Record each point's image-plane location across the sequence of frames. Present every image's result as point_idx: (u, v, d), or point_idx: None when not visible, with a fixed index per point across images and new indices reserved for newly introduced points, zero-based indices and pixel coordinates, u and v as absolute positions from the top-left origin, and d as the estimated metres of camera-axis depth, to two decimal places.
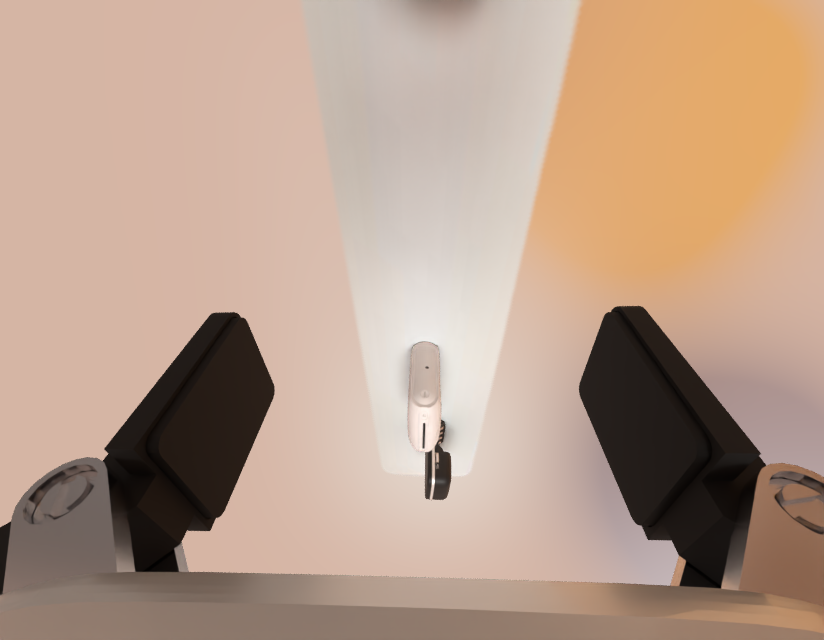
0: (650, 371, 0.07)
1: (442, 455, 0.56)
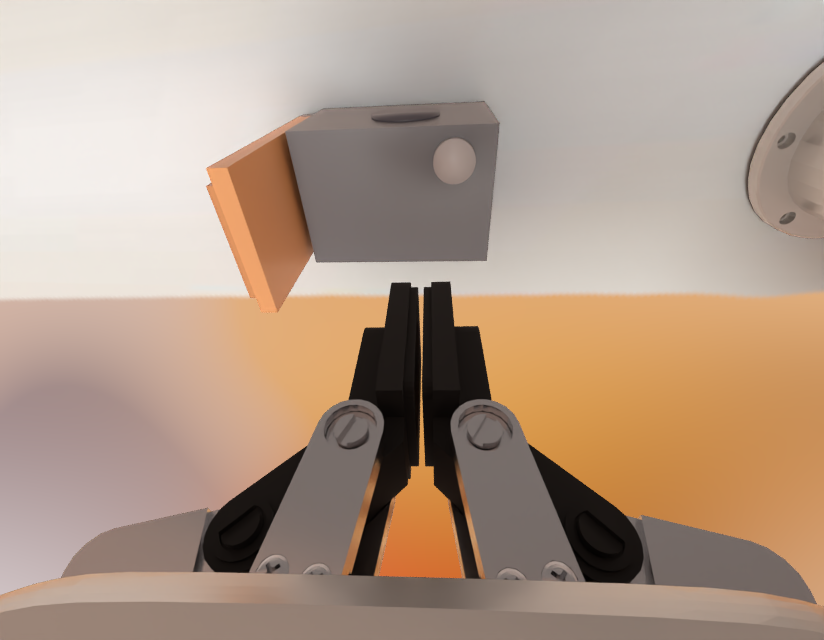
0: None
1: None
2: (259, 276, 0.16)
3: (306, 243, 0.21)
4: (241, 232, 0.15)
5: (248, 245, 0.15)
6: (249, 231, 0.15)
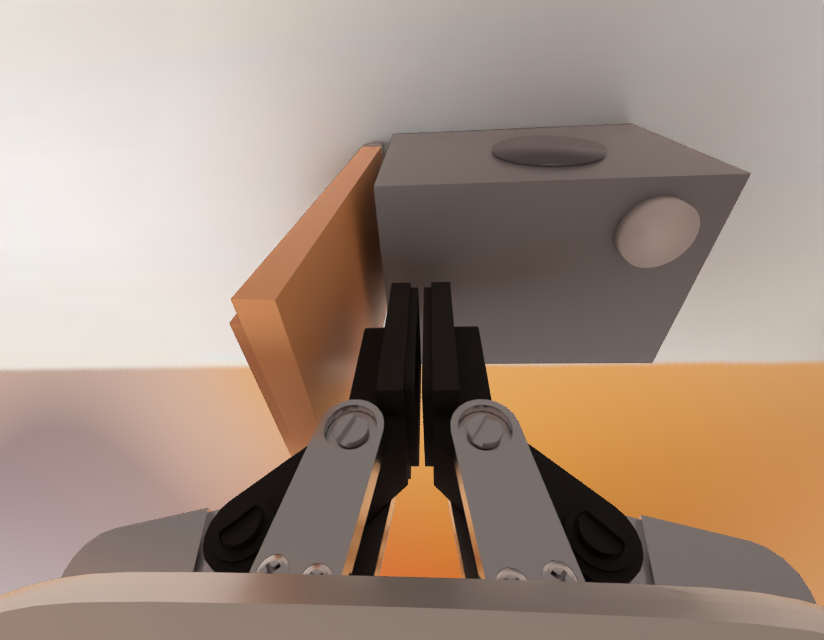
0: None
1: None
2: None
3: None
4: (292, 395, 0.08)
5: (303, 412, 0.08)
6: (307, 394, 0.08)
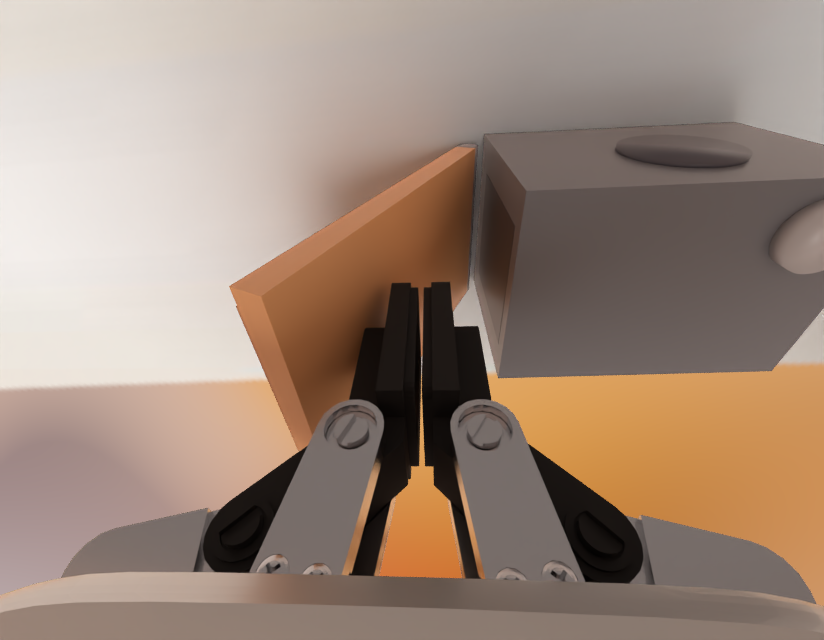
0: None
1: None
2: (308, 443, 0.09)
3: None
4: (284, 387, 0.08)
5: (294, 405, 0.08)
6: (296, 390, 0.08)
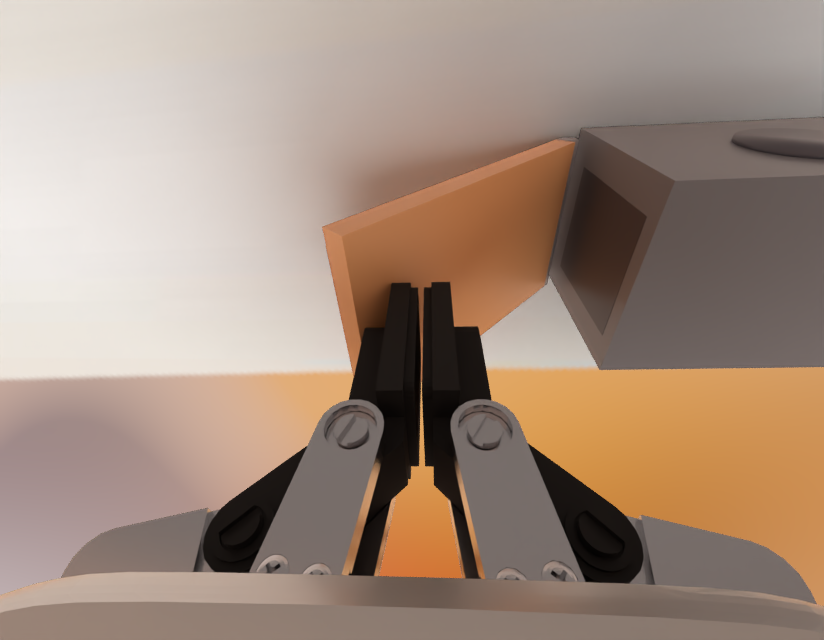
0: None
1: None
2: None
3: (476, 322, 0.14)
4: (349, 318, 0.10)
5: (355, 336, 0.10)
6: (358, 322, 0.10)
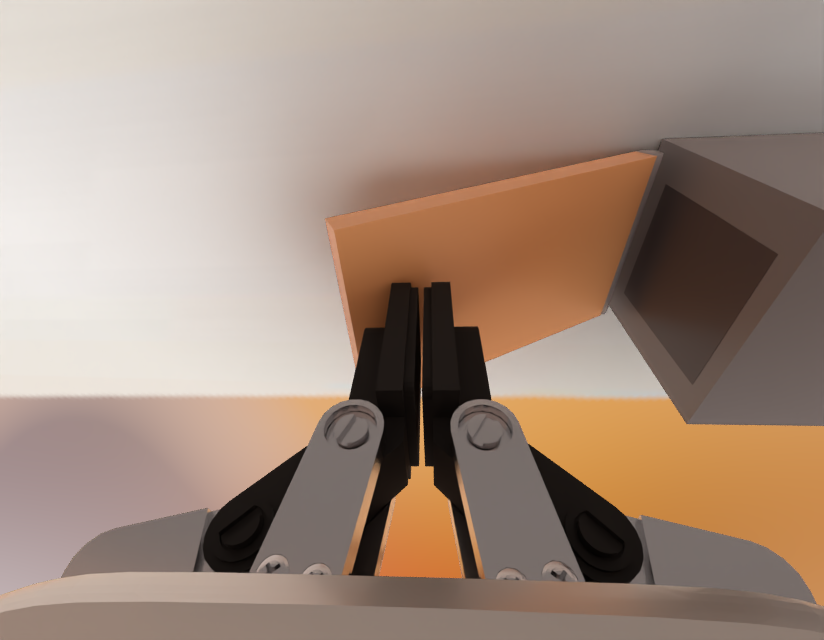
0: None
1: None
2: None
3: (499, 339, 0.13)
4: (346, 309, 0.10)
5: (351, 327, 0.10)
6: (351, 314, 0.10)
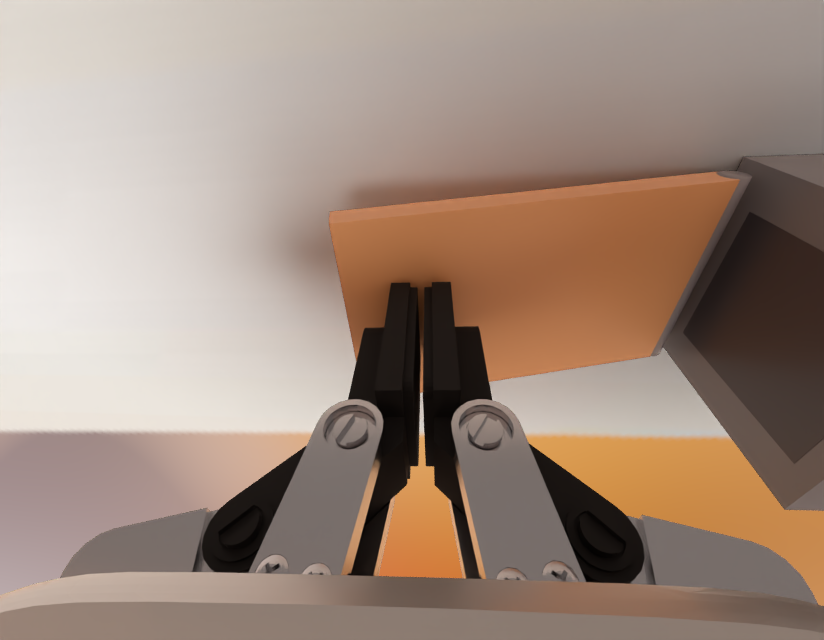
0: None
1: None
2: None
3: (514, 359, 0.13)
4: None
5: None
6: (347, 307, 0.10)
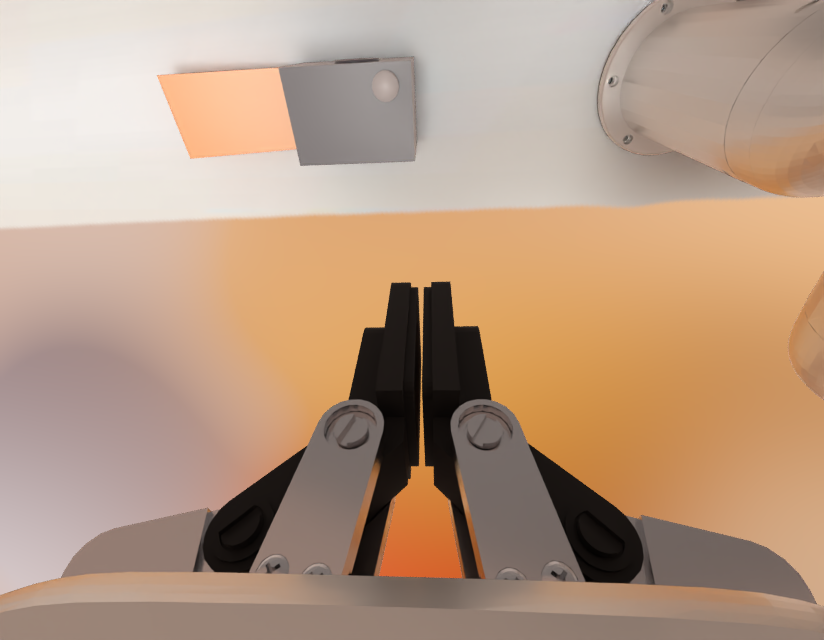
0: None
1: None
2: None
3: (245, 143, 0.34)
4: None
5: None
6: (171, 109, 0.32)
